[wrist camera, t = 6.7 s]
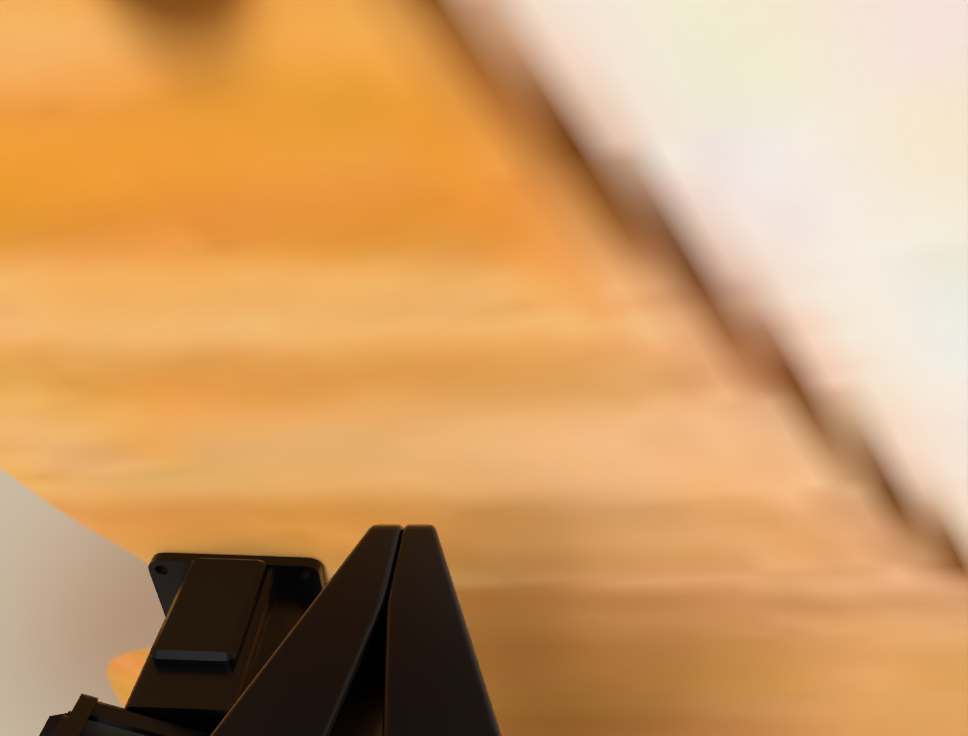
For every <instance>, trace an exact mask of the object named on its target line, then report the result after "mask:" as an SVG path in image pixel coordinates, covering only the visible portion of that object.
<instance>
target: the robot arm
mask: <svg viewBox="0 0 968 736" xmlns="http://www.w3.org/2000/svg"><path fill="white" fill-rule="evenodd" d="M148 568H149V572H150V575H151V577H152V580H153V583H154V586H155V589H156V592H157V594H158V597H159V599H160V602H161V605H162V608H163V611H164V614H165V616H166V618H165V620H164V622H163V624H162V627H161V629H160V631H159V633H158V635H157V637H156V640H155V642H154V644H153V646H152V648H151V651H150V653H149V655H148V658H147V660H146V662H145V664H144V666H143V669H142V671H141V673H140V675H139V677H138V679H137V682H136V684H135V686H134V688H133V690H132V693H131V695H130V697H129V699H128V701H127V704H126V706H125V708H120V707H116V706H113V705H110V704H106V703H102V702H98V698H96V697H93V696H89V695H85V694H81V696H80V698H79V699H78V701H77V703H76V705H75V707H74V709H73V710H72V712H71V711H69V712H68V713H65V714H59V715H54V716H50V717H49V719H48V720H47V722H46V724H45V726H44V728H43V730H42V732H41V733H40V735H39V736H502V735H501V732H500V729H499V726H498V723H497V720H496V716H495V713H494V710H493V707H492V704H491V701H490V698H489V694H488V691H487V688H486V685H485V682H484V679H483V676H482V672H481V669H480V666H479V663H478V660H477V657H476V654H475V650H474V647H473V644H472V641H471V638H470V635H469V632H468V628H467V625H466V622H465V619H464V616H463V613H462V610H461V606H460V603H459V600H458V597H457V594H456V591H455V588H454V584H453V581H452V578H451V575H450V572H449V569H448V566H447V562H446V559H445V556H444V553H443V550H442V547H441V544H440V540H439V537H438V534H437V531H436V528H435V527H434V526H433V525H407V526H405V528H404V529H403V527H402V526H400V525H374V526H372V527H371V528H370V529H369V530H368V531H367V532H366V534H365V535H364V536H363V538H362V539H361V540H360V542H359V543H358V544H357V545H356V547H355V548H354V549H353V551H352V552H351V553H350V555H349V556H348V557H347V558H346V560H345V561H344V562H343V564H342V565H341V566H340V568H339V569H338V570H337V571H336V573H335V574H334V575H333V577H332V578H331V579H330V581H329V582H328V583H327V584H326V586H325V582H324V576H323V570H322V566H321V564H320V563H319V562H318V561H316V560H314V559H311V558H296V557H267V556H238V555H210V554H181V553H158V554H156V555H154V557H153V558H152V560H151V562H150V564H149V566H148Z"/></svg>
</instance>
